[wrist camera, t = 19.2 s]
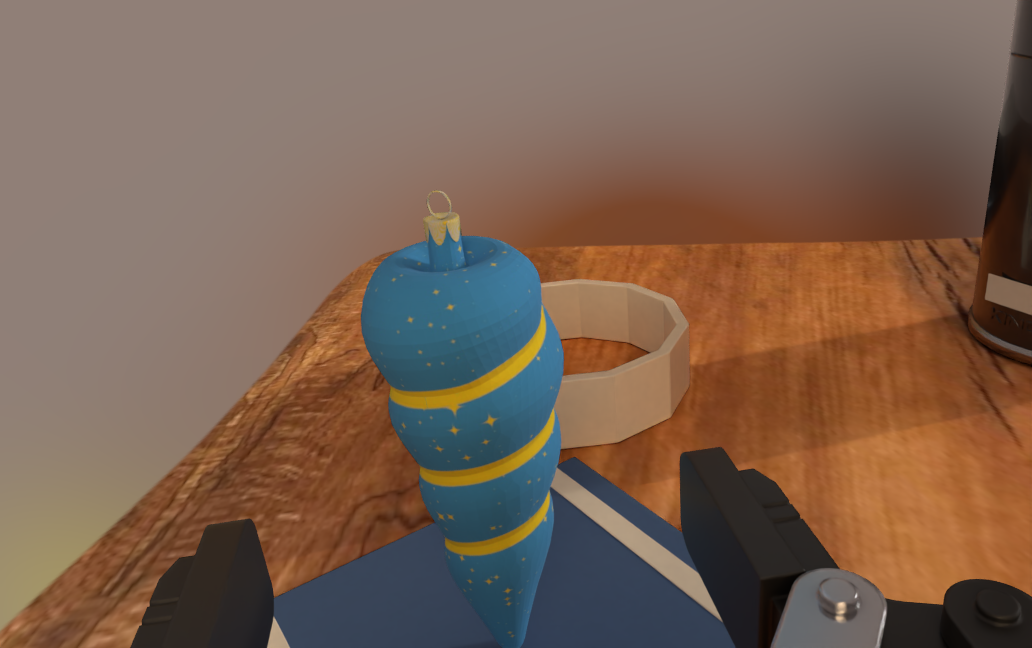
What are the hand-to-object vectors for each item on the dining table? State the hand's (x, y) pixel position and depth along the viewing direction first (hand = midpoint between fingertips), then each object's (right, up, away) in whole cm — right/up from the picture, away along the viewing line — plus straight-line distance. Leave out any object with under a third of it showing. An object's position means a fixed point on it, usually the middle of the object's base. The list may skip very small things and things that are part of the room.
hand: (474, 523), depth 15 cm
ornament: (+1, -7, +11) cm, 13 cm away
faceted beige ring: (+3, +1, +27) cm, 27 cm away
